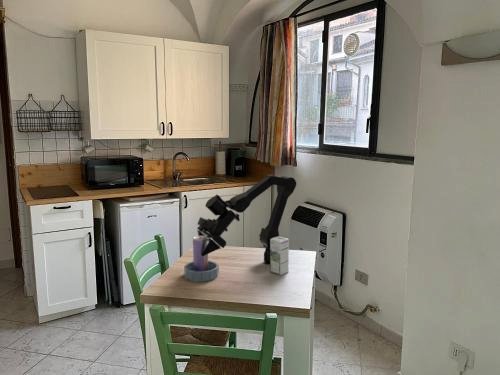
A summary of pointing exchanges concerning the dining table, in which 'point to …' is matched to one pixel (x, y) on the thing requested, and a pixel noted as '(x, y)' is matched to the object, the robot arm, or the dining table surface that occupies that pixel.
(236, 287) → the dining table surface
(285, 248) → the syrup box
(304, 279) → the dining table surface
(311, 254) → the dining table surface
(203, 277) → the bowl
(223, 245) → the robot arm
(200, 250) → the beverage can
